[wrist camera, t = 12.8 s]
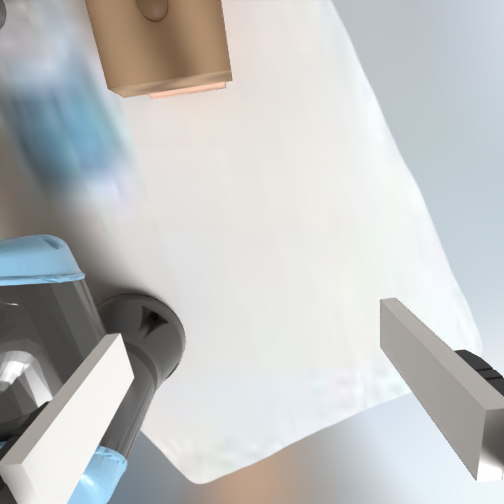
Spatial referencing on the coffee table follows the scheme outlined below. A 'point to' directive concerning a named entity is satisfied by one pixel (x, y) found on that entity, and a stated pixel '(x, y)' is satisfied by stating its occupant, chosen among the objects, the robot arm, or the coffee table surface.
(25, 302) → the robot arm
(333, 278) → the coffee table surface
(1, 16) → the beverage cup
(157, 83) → the lid
